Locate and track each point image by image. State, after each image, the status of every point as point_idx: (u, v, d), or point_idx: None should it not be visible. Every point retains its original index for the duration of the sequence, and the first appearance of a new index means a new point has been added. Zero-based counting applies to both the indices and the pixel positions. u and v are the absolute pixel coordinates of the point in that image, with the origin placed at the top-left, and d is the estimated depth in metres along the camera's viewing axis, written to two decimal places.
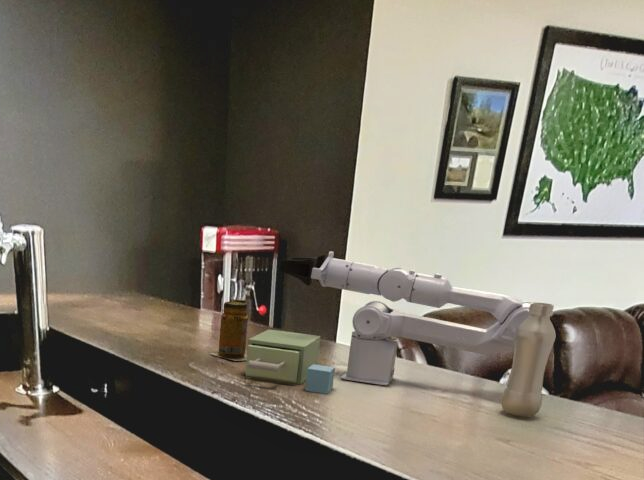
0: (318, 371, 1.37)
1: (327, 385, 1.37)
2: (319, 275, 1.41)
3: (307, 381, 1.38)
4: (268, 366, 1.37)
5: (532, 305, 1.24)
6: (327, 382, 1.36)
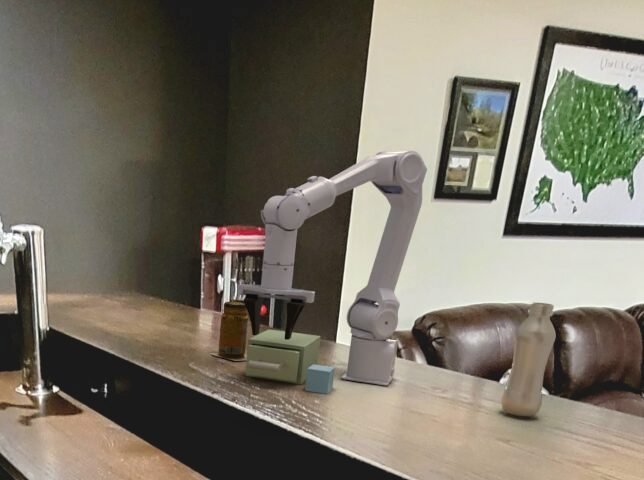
0: (318, 371, 1.37)
1: (327, 385, 1.37)
2: (313, 293, 1.33)
3: (307, 381, 1.38)
4: (268, 366, 1.37)
5: (532, 305, 1.24)
6: (327, 382, 1.36)
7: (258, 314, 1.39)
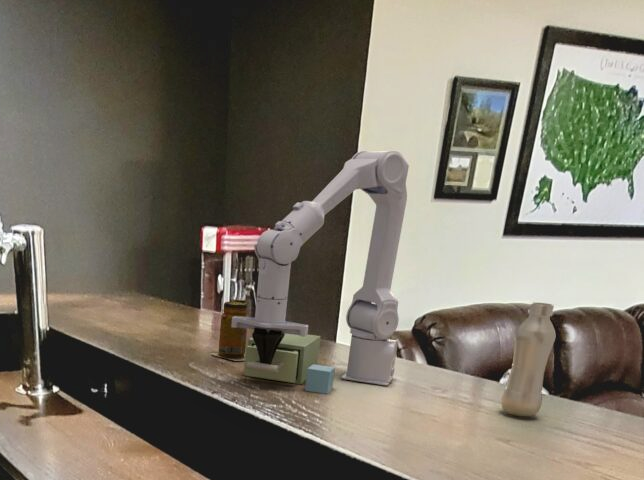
0: (318, 371, 1.37)
1: (327, 385, 1.37)
2: (307, 326, 1.34)
3: (307, 381, 1.38)
4: (266, 367, 1.36)
5: (532, 305, 1.24)
6: (327, 382, 1.36)
7: None
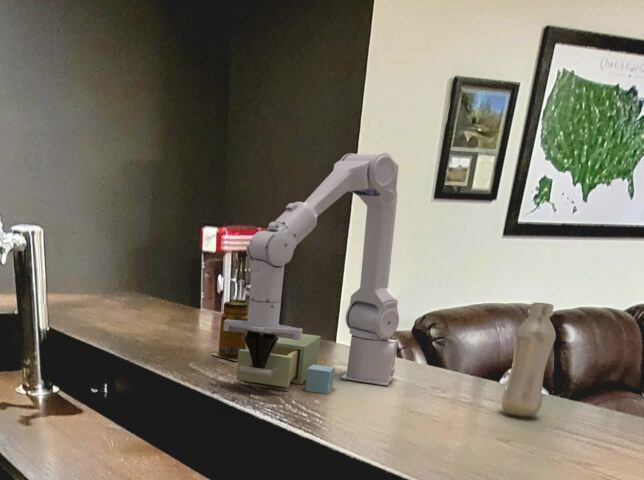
0: (318, 371, 1.37)
1: (327, 385, 1.37)
2: (301, 330, 1.30)
3: (307, 381, 1.38)
4: (259, 372, 1.32)
5: (532, 305, 1.24)
6: (327, 382, 1.36)
7: None
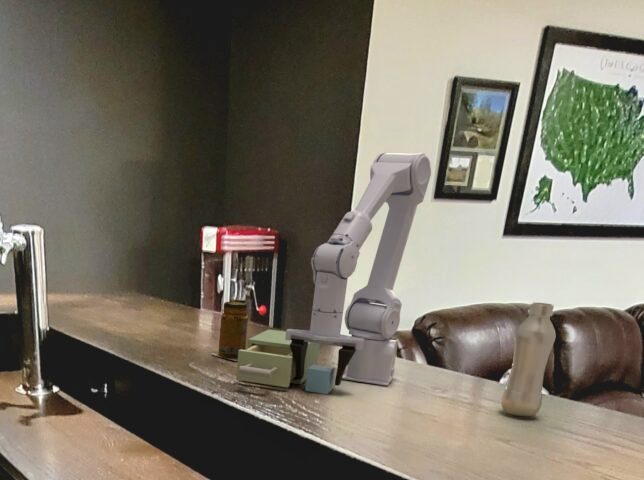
0: (318, 371, 1.37)
1: (327, 385, 1.37)
2: (363, 340, 1.34)
3: (307, 381, 1.38)
4: (259, 372, 1.32)
5: (532, 305, 1.24)
6: (327, 382, 1.36)
7: (303, 359, 1.39)
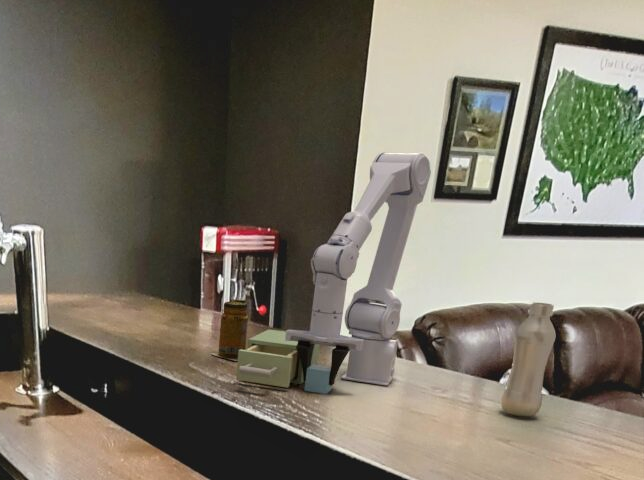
0: (317, 371, 1.37)
1: (326, 385, 1.37)
2: (363, 341, 1.34)
3: (306, 381, 1.38)
4: (259, 372, 1.32)
5: (532, 305, 1.24)
6: (326, 382, 1.37)
7: (309, 360, 1.39)
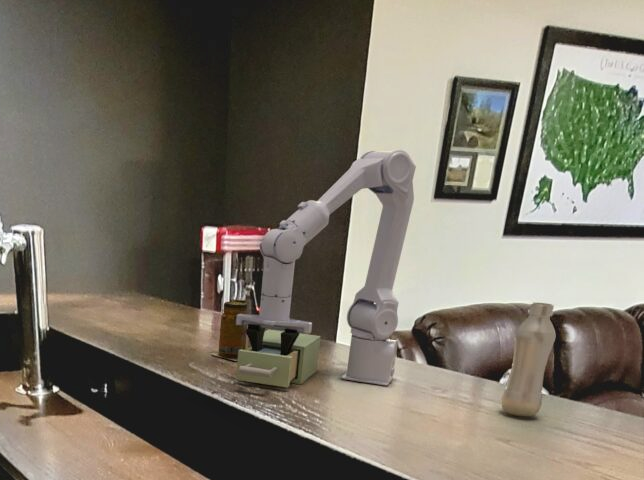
0: None
1: None
2: (311, 324, 1.36)
3: None
4: (259, 372, 1.32)
5: (532, 305, 1.24)
6: None
7: (260, 344, 1.41)
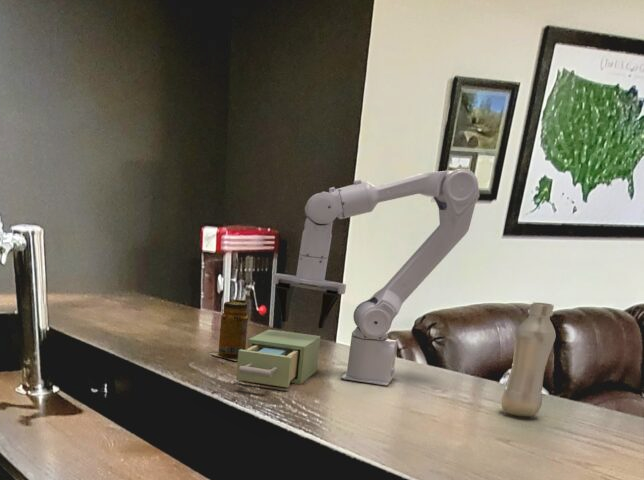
0: None
1: None
2: (345, 285, 1.43)
3: None
4: (259, 372, 1.32)
5: (532, 305, 1.24)
6: None
7: (288, 302, 1.48)
